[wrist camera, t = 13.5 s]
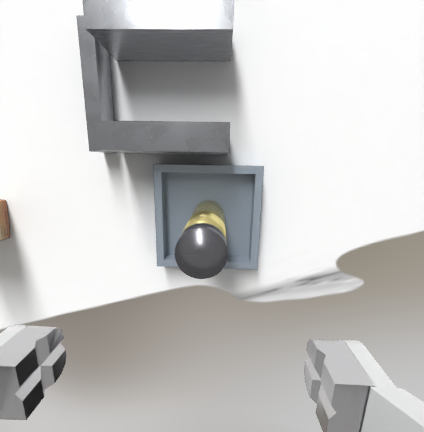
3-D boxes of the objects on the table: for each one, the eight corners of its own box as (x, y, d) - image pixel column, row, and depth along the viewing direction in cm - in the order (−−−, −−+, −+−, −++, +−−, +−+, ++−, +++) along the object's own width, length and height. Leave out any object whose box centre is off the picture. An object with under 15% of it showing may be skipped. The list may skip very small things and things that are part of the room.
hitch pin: (224, 200, 27) (228, 229, 15) (223, 230, 28) (226, 279, 16) (193, 199, 27) (173, 227, 15) (193, 229, 28) (174, 278, 16)
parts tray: (259, 165, 27) (263, 166, 24) (254, 260, 29) (257, 269, 27) (159, 164, 27) (153, 164, 25) (162, 257, 30) (157, 266, 27)
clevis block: (230, 33, 24) (234, -8, 18) (227, 154, 27) (228, 152, 21) (93, 33, 24) (54, -8, 19) (103, 152, 27) (71, 149, 21)
